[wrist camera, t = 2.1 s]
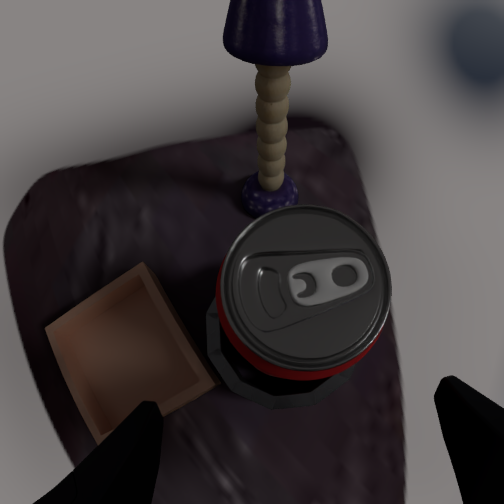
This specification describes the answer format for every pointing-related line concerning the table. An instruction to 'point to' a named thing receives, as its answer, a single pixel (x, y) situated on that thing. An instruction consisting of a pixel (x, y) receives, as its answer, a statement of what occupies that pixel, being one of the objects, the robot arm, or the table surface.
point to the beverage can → (303, 292)
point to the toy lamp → (273, 83)
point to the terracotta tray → (128, 352)
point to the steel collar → (238, 385)
